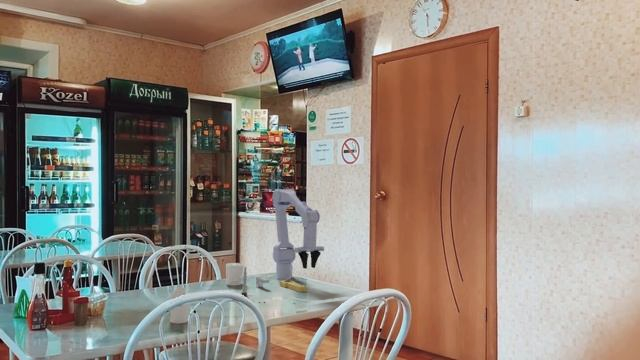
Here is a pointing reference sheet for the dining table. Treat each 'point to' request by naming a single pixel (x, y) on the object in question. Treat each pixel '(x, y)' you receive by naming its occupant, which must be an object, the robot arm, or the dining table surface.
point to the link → (293, 286)
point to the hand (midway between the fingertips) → (309, 267)
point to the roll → (179, 308)
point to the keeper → (261, 281)
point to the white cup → (234, 273)
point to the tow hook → (244, 284)
